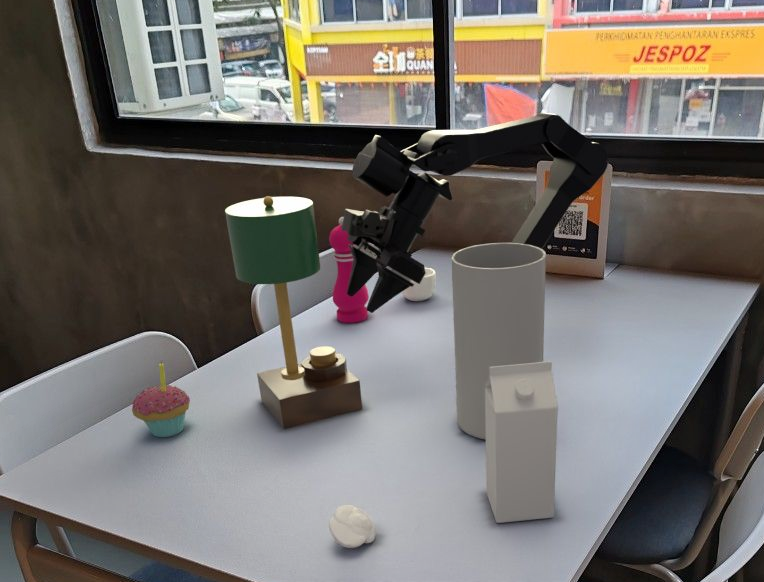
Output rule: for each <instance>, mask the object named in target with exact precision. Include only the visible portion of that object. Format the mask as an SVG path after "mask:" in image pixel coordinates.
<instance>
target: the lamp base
mask: <svg viewBox="0 0 764 582" xmlns="http://www.w3.org/2000/svg"><path fill="white" fill-rule="evenodd" d="M335 354H336V363H334V364H333V365H329V366H325V367H316V366H312V365H311V359H310V355H308V356H307V357H305V358H303V359H302V361H301V362H300V363H298V366H300V367H303V368H304V369H305V376H304V377H303V378H300V379H297V380H285V379H283V378H282V376H281V371H282V370H283V369H285V368H286V366H283V367H278V368H275V369H269V370H265V371H261V372H257V373H256V375H257V376H256V377H257V383H258V389H259V394H260V400H261V403H262V404H263V405H264V406H265V408H266V409H267V410H268V411H269V412H270V414H271V415H272V416H273V418H274V419H275V420H276V421H277V423H278V424H279V425H280V426H281V427H282V429H283V430H288V429H292V428H295V427H299V426H303V425H307V424H311V423H314V422H318V421H322V420H326V419H327V420H328V419H330V418H334V417H338V416H339V417H340V416H342V415H347V414H350V413H355V412H358V411H361V410H363V403H362V402H363V401H362V391H361V382H360V381H361V380H360V379H358V377H357V376H355V375H354V374H353V373H351V372H350V371H349V370H348V364H347V358H346V356H344V355H343V354H342V353H337V352H335Z"/></svg>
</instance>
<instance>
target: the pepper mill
mask: <svg viewBox="0 0 764 582" xmlns="http://www.w3.org/2000/svg"><path fill="white" fill-rule="evenodd" d="M343 219H344V216H341V217H339V219H338V225H337V226H335V227H334V228H333V229H332V230H331V231H330V234H329V237H328V239H329V245H330V246H331V248H332V249H333V252H332V253H333V255H334V256H333V260H334V261H336V266H337V267H336V268H337V275H336V276H337V277H336V280H335V283H334V286H333V290H332V302H333V304H334V305H335V306H336V308H337V310H336V318H337V320H338V322H341V323H343V324H355V323H361V322H363V321H365V320H367V319H368V317H369V311H367V310H366V308H367V306H366V304H368V302H369V299H370V297H369V291H368V288H367V285H366V284H365V285H364V286H363V287H362V288H361V289H360V290H359V291H358V292H357V293H356V294H355V295H354V296H353V297H351V296H349V295H347V288H348V284H349V279H350V274H351V270H352V264H353V256H352V253H351V250H350V248H349V244H350V245H352V246H353V245H354V244H353V243H351V242H350V241H348V240H347V239H348V237H349V235H348V234H347V232H346V231H342V225H343Z"/></svg>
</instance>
